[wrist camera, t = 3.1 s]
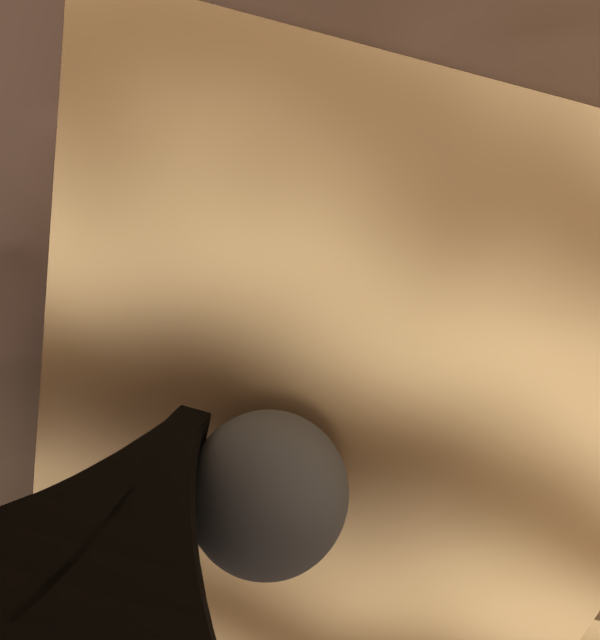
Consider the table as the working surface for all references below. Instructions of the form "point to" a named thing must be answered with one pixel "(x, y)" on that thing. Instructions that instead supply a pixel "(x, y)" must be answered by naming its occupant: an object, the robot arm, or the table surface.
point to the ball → (269, 496)
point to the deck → (338, 307)
